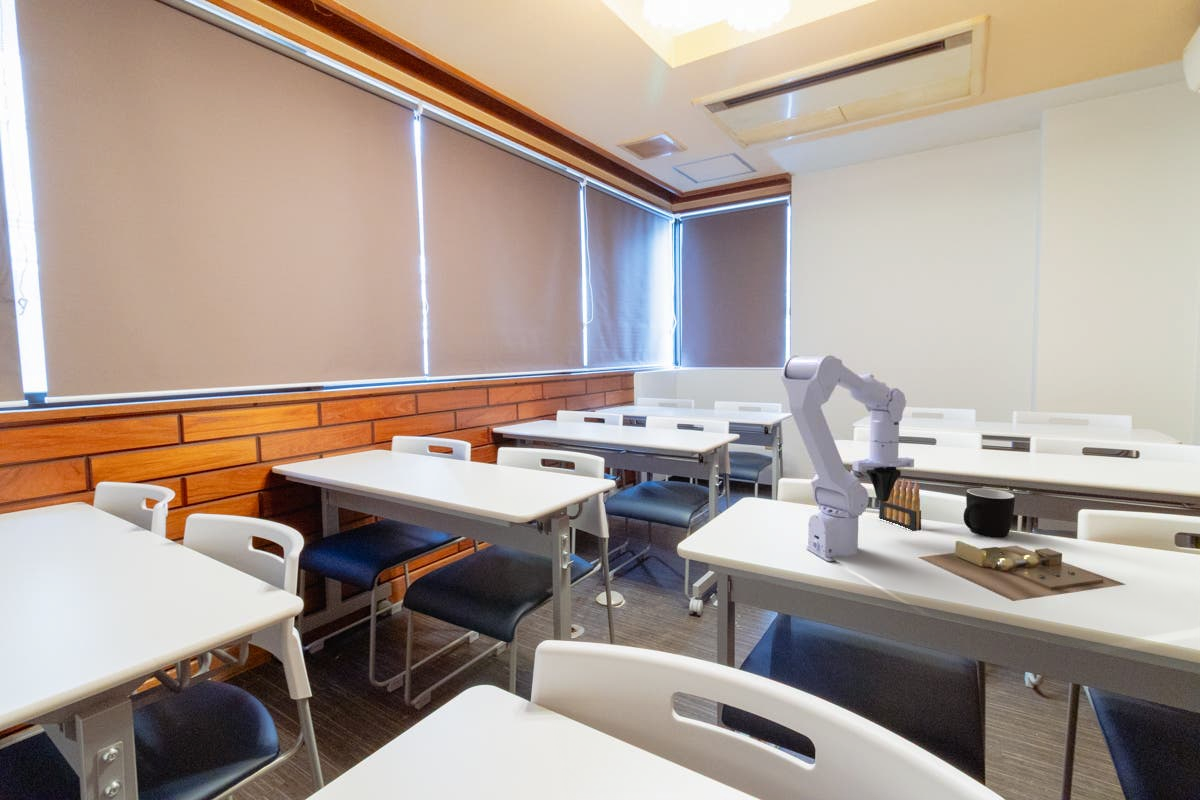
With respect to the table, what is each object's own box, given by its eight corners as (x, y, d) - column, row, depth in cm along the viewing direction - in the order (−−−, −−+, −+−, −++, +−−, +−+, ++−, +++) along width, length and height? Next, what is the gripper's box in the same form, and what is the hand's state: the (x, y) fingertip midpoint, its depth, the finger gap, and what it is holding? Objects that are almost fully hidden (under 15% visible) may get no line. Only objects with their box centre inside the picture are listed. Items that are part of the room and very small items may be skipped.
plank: (1012, 605, 90) (1013, 600, 89) (917, 560, 109) (918, 557, 109) (1125, 588, 95) (1125, 584, 95) (1015, 549, 114) (1016, 545, 114)
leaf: (1011, 547, 112) (1012, 533, 112) (1060, 565, 103) (1060, 550, 103) (953, 554, 109) (953, 540, 109) (998, 573, 100) (998, 557, 99)
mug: (983, 527, 128) (985, 486, 127) (1022, 539, 120) (1024, 495, 119) (945, 533, 125) (947, 491, 124) (983, 546, 116) (985, 501, 115)
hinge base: (1046, 561, 105) (1047, 548, 105) (1103, 582, 96) (1104, 567, 95) (997, 568, 103) (997, 554, 102) (1050, 590, 93) (1051, 574, 93)
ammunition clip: (921, 531, 127) (923, 482, 126) (915, 532, 126) (917, 483, 125) (884, 518, 137) (885, 473, 136) (878, 519, 136) (879, 473, 135)
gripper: (868, 445, 114) (867, 507, 115) (925, 441, 117) (923, 502, 118) (846, 440, 120) (845, 499, 122) (901, 437, 124) (899, 494, 125)
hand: (882, 500), depth 120 cm, fingers closed
